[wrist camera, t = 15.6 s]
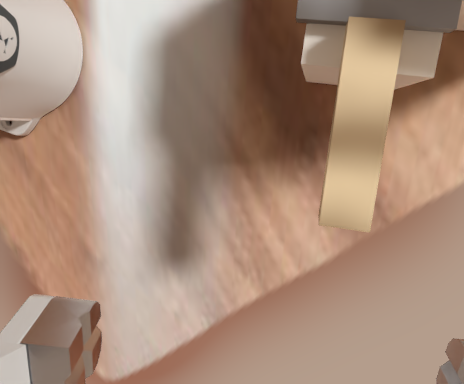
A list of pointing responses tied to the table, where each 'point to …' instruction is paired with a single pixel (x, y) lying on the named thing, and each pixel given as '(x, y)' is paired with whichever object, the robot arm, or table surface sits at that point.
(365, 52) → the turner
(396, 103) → the table surface
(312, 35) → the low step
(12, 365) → the robot arm
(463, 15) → the tall stand
